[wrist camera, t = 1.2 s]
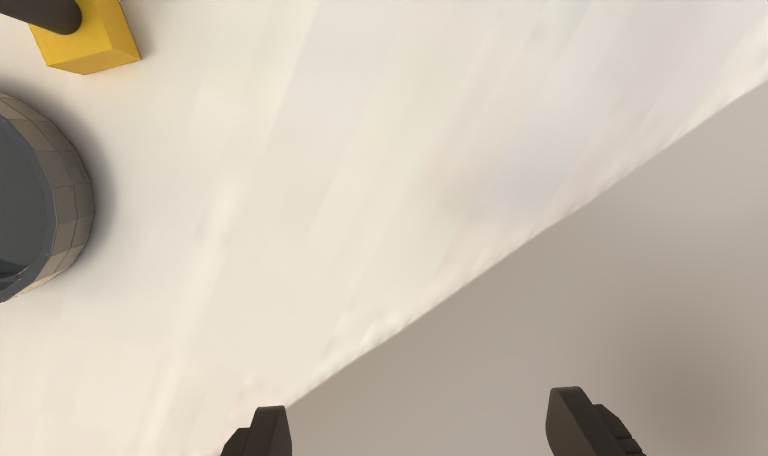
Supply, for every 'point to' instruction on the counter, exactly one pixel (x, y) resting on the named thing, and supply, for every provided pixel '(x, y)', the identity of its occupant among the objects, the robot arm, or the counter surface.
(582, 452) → the robot arm
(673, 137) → the counter surface
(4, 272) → the bowl
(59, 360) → the counter surface
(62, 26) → the peg on yellow base
